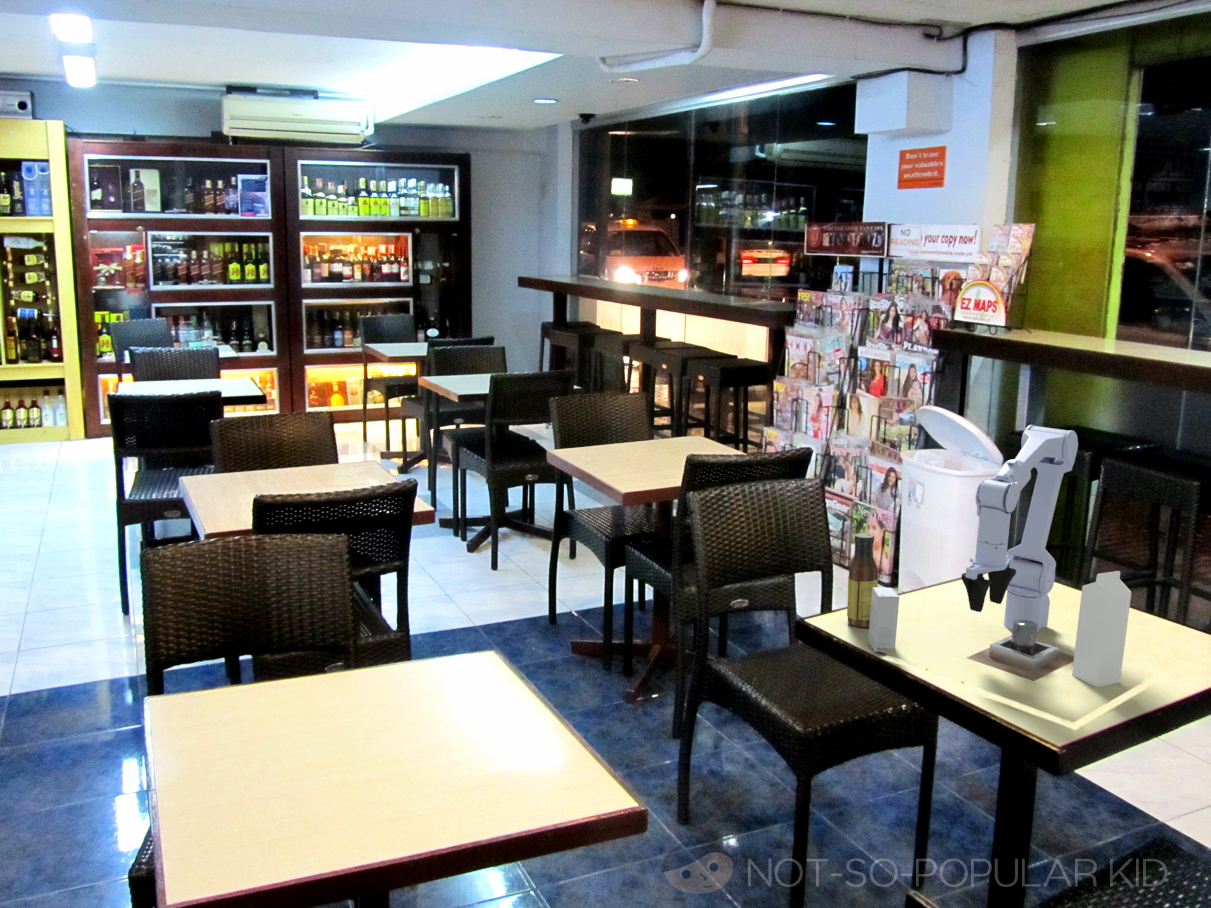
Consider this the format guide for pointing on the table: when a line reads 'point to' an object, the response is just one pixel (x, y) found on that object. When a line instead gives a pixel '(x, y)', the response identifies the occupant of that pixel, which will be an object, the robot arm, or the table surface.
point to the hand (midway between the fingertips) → (985, 606)
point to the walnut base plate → (1020, 671)
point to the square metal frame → (1041, 658)
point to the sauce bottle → (861, 581)
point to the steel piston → (1024, 636)
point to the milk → (1102, 630)
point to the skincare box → (883, 618)
